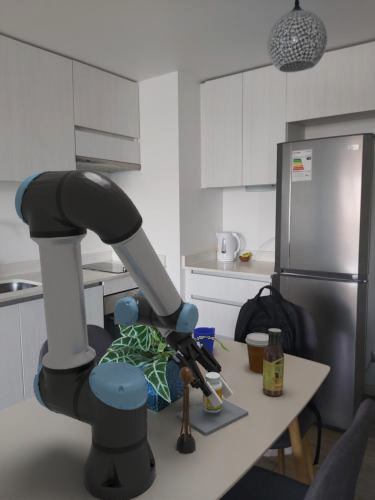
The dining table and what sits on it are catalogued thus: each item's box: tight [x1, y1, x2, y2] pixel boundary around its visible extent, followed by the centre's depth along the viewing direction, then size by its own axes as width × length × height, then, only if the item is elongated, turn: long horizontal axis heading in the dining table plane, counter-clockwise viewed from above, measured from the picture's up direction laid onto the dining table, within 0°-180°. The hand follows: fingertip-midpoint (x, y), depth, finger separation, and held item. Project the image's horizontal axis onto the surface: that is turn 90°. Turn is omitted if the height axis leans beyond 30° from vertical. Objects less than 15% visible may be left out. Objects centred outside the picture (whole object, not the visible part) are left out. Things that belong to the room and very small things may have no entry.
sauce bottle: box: [262, 327, 285, 397], centre depth 122 cm, size 7×6×20 cm
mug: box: [192, 326, 216, 355], centre depth 154 cm, size 8×12×10 cm
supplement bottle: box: [202, 372, 223, 413], centre depth 108 cm, size 5×5×10 cm
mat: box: [175, 397, 249, 437], centre depth 109 cm, size 16×12×1 cm
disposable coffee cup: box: [245, 332, 269, 374], centre depth 139 cm, size 10×10×12 cm
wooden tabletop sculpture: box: [175, 367, 197, 455], centre depth 93 cm, size 6×5×20 cm
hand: (224, 400), depth 107 cm, fingers closed on supplement bottle, 5 cm apart
